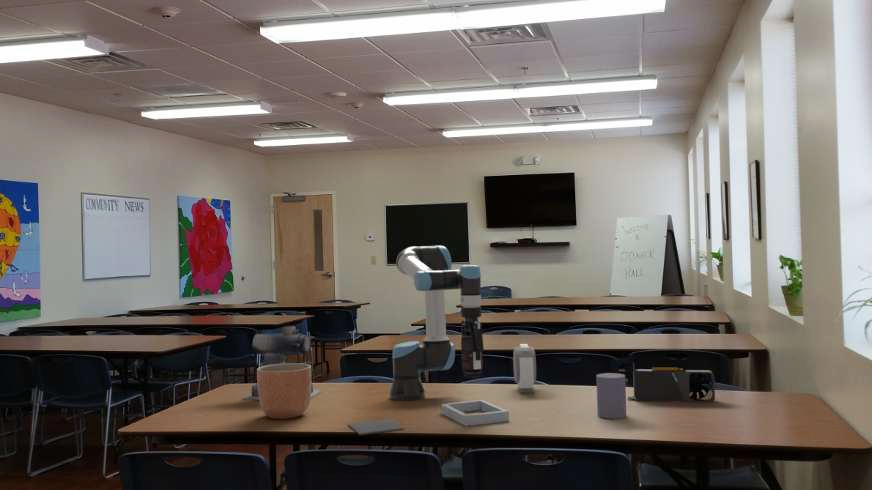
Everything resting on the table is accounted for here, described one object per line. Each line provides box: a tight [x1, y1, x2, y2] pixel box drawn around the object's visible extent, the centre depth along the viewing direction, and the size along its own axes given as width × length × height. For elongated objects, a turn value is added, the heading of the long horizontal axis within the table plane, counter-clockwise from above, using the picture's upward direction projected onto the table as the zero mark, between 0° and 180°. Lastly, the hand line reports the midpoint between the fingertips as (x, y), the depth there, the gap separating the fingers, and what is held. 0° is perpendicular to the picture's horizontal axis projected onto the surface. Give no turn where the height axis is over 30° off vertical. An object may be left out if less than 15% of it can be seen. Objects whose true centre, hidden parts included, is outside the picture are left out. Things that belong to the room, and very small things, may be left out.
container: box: [595, 372, 627, 420], centre depth 275 cm, size 10×10×15 cm
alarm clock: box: [512, 343, 537, 394], centre depth 329 cm, size 18×8×20 cm, turn 179°
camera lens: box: [460, 335, 484, 378], centre depth 280 cm, size 8×8×15 cm
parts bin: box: [440, 399, 510, 427], centre depth 280 cm, size 23×17×4 cm
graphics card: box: [627, 362, 716, 403], centre depth 299 cm, size 33×5×14 cm, turn 75°
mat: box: [347, 418, 404, 436], centre depth 268 cm, size 16×16×1 cm
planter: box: [256, 362, 312, 420], centre depth 291 cm, size 21×21×19 cm
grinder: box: [241, 325, 323, 401], centre depth 334 cm, size 18×31×31 cm, turn 79°
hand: (472, 367), depth 280 cm, fingers closed on camera lens, 8 cm apart
